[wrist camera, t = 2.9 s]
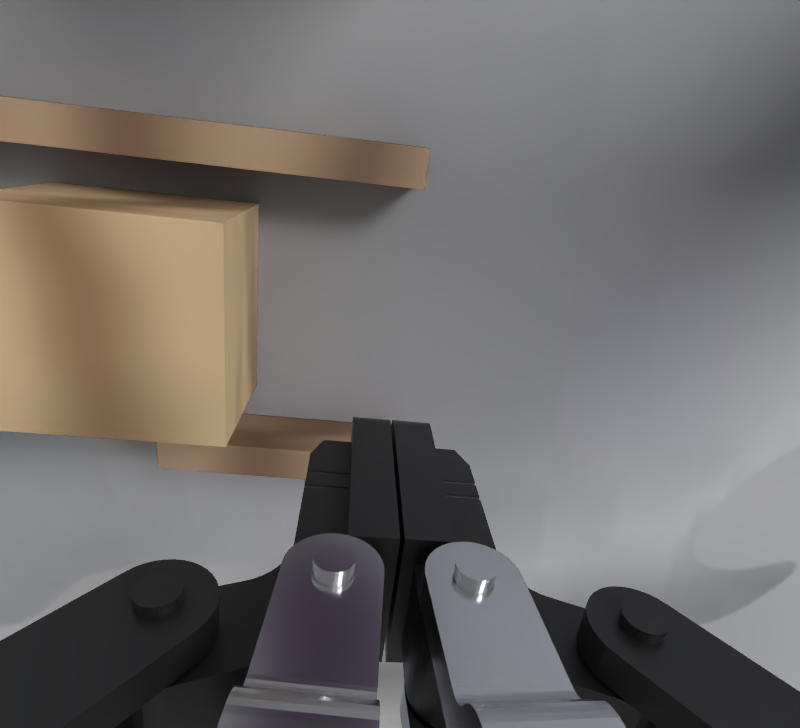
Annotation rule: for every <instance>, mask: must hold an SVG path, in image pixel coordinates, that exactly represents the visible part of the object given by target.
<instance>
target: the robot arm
mask: <svg viewBox="0 0 800 728" xmlns="http://www.w3.org/2000/svg"><path fill="white" fill-rule="evenodd" d="M474 483H475V482H474V479H473V476H472V473H471V469H470V466H469V465H468V464H467V463H466V462H465V461H464V460H463V459H462V458H461V457H460V456H459V455H458V454H457V452H456V451H455V450H446V449H435V445H434V441H433V436H432V432H431V427H430V424H429V423H418V422H407V421H395V420H393V421H392V424H391V423H390V420H382V419H370V418H358V417H353V423H352V432H351V442H344V441H332V440H323V441H322V442H321V443H320V444H319V445H318V446H317V447H316V448H315V449H314V450H313V451H312V452H311V453H310V458H309V464H308V469H307V475H306V481H305V488H304V492H303V498H302V503H301V509H300V514H299V520H298V526H297V531H296V537H295V542H294V545H293V546H292V547H291V548H290V549H289V550H288V552H287V553H286V554H285V556H284V558H283V561H282V563H281V564H280V565H279V566H278V567H277V568H275V569H274V570H272V571H271V572H269V573H267V574H265V575H263V576H260V577H257V578H255V579H251V580H247V581H243V582H237V583H232V584H227V585H222V586H218V583H217V581H216V579H215V578H214V576H213V575H212V574H211V573H210V572H209V571H208V570H207V569H206V568H204V567H202V566H201V565H198V564H196V563H193V562H189V561H185V560H175V559H173V560H159V561H153V562H149V563H145V564H142V565H139V566H136V567H134V568H132V569H130V570H128V571H126V572H124V573H122V574H120V575H118V576H117V577H115V578H113V579H111V580H109V581H108V582H106V583H104V584H102V585H100V586H99V587H97V588H95V589H93V590H91V591H90V592H88V593H86V594H84V595H82V596H81V597H79V598H77V599H75V600H73V601H71V602H70V603H68V604H66V605H64V606H63V607H61V608H59V609H57V610H55V611H53V612H52V613H50V614H48V615H46V616H45V617H43V618H41V619H39V620H37V621H35V622H34V623H32V624H30V625H28V626H26V627H25V628H23V629H21V630H19V631H17V632H16V633H14V634H12V635H10V636H8V637H7V638H5V639H3V640H1V641H0V728H379V720H380V702H379V700H377V686H378V670H379V662H382V656H383V649H384V643H385V651H386V662H403V668H404V688H403V693H402V699H401V706H400V717H401V724H402V728H800V692H799V691H798V690H796V689H795V688H793V687H792V686H790V685H789V684H787V683H785V682H784V681H782V680H781V679H779V678H778V677H776V676H775V675H773V674H772V673H770V672H769V671H767V670H766V669H764V668H762V667H761V666H760V665H758V664H756V663H755V662H753V661H752V660H750V659H749V658H747V657H746V656H744V655H743V654H741V653H740V652H738V651H737V650H735V649H734V648H732V647H731V646H729V645H728V644H726V643H725V642H723V641H721V640H720V639H719V638H717V637H715V636H714V635H712V634H711V633H709V632H708V631H706V630H705V629H703V628H702V627H700V626H699V625H697V624H696V623H694V622H693V621H691V620H690V619H688V618H687V617H685V616H683V615H682V614H680V613H679V612H677V611H676V610H674V609H673V608H671V607H670V606H668V605H667V604H665V603H664V602H662V601H660V600H659V599H657V598H655V597H653V596H651V595H649V594H647V593H644V592H641V591H638V590H635V589H631V588H626V587H606V588H602V589H599V590H598V591H596V592H594V593H593V594H592V595H591V596H590V598H589V600H588V602H587V605H586V608H582V607H578V606H575V605H572V604H569V603H565V602H562V601H559V600H556V599H552V598H549V597H546V596H544V595H541V594H539V593H537V592H535V591H532V590H531V589H529V588H528V587H527V585H526V583H525V581H524V579H523V576H522V574H521V573H520V571H519V569H518V568H517V567H516V565H515V564H514V563H513V562H512V561H511V560H510V559H509V558H507V557H506V556H505V555H503V554H502V553H500V552H498V551H496V548H495V545H494V542H493V539H492V536H491V533H490V529H489V526H488V523H487V520H486V517H485V514H484V510H483V507H482V504H481V501H480V500H479V495H478V491H477V488H476V486H474Z"/></svg>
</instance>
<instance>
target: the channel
mask: <svg viewBox="0 0 800 728" xmlns="http://www.w3.org/2000/svg"><path fill="white" fill-rule="evenodd" d="M0 141H5V142H14V143H22V144H31V145H40V146H48V147H57V148H66V149H74V150H83V151H92V152H100V153H109V154H118V155H126V156H135V157H144V158H152V159H161V160H170V161H178V162H187V163H196V164H204V165H213V166H222V167H230V168H239V169H248V170H256V171H265V172H274V173H282V174H291V175H300V176H308V177H317V178H326V179H334V180H343V181H352V182H360V183H369V184H378V185H386V186H395V187H404V188H412V189H421V190H424V189H425V181H426V173H427V165H428V157H429V149H430V148H424V147H416V146H408V145H400V144H392V143H383V142H375V141H367V140H359V139H350V138H342V137H334V136H326V135H317V134H309V133H301V132H293V131H285V130H276V129H268V128H260V127H252V126H243V125H235V124H227V123H219V122H210V121H202V120H194V119H186V118H177V117H169V116H161V115H153V114H144V113H136V112H128V111H120V110H111V109H103V108H95V107H87V106H78V105H70V104H62V103H54V102H45V101H37V100H29V99H21V98H12V97H4V96H0ZM351 432H352V423H349V422H336V421H324V420H312V419H300V418H287V417H275V416H263V415H251V414H242V415H241V418H240V420H239V422H238V424H237V426H236V428H235V430H234V432H233V434H232V436H231V438H230V440H229V442H228V444H227V446H226V447H217V446H203V445H189V444H175V443H162V442H157V457H158V468H161V469H175V470H189V471H202V472H216V473H229V474H243V475H257V476H270V477H284V478H297V479H306V475H307V469H308V464H309V458H310V453H311V452H312V451H313V450H314V449H315V448H316V447H317V446H318V445H319V444H320V443H321V442H322V441H323V440H332V441H344V442H351Z"/></svg>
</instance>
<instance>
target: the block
mask: <svg viewBox="0 0 800 728" xmlns="http://www.w3.org/2000/svg"><path fill="white" fill-rule="evenodd" d="M258 230H259V204H258V203H249V202H239V201H230V200H220V199H210V198H201V197H191V196H181V195H172V194H162V193H152V192H143V191H133V190H124V189H114V188H104V187H95V186H85V185H75V184H66V183H56V182H48V183H41V184H33V185H26V186H18V187H11V188H4V189H0V431H10V432H23V433H37V434H51V435H65V436H79V437H93V438H106V439H120V440H134V441H148V442H162V443H175V444H189V445H203V446H217V447H226V446H227V444H228V442H229V440H230V438H231V436H232V434H233V432H234V430H235V428H236V426H237V424H238V422H239V420H240V418H241V415H242V413H243V411H244V409H245V407H246V405H247V403H248V401H249V399H250V397H251V395H252V393H253V391H254V389H255V387H256V385H257V315H258Z"/></svg>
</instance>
